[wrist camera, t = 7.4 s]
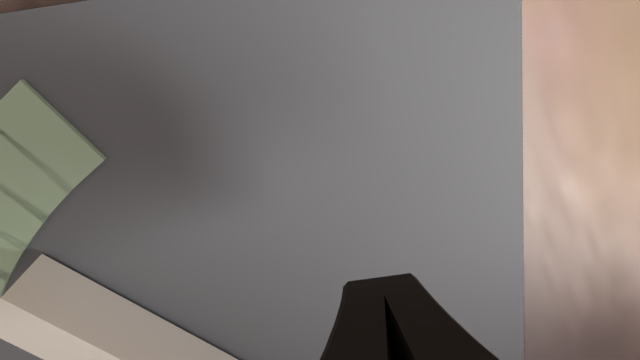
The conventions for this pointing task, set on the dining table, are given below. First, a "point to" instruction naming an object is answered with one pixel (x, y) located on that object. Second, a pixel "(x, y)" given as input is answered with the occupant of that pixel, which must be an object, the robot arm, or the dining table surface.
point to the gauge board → (268, 160)
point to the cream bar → (88, 321)
